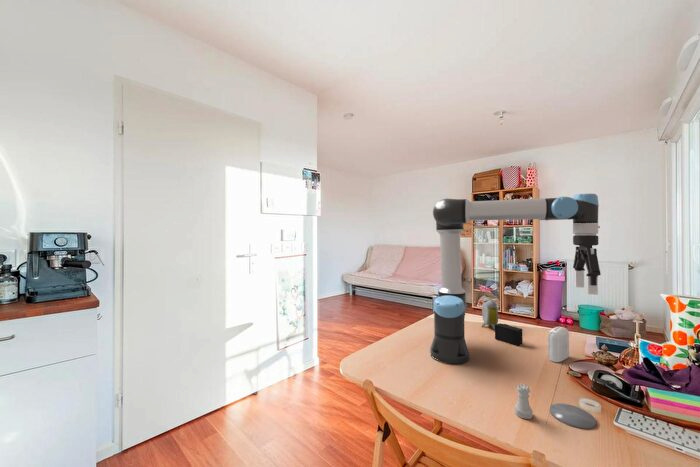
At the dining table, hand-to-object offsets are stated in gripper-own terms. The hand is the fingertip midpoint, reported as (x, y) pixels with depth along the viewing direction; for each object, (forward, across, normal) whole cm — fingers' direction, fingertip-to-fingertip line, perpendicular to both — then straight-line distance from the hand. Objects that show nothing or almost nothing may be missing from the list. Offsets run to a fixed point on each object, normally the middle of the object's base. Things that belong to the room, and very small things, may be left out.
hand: (585, 290), depth 111 cm
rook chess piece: (+28, -44, +27) cm, 59 cm away
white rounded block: (+28, +1, +8) cm, 29 cm away
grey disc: (+28, -40, +15) cm, 51 cm away
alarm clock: (+28, +32, +32) cm, 53 cm away
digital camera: (+28, +14, +24) cm, 40 cm away
